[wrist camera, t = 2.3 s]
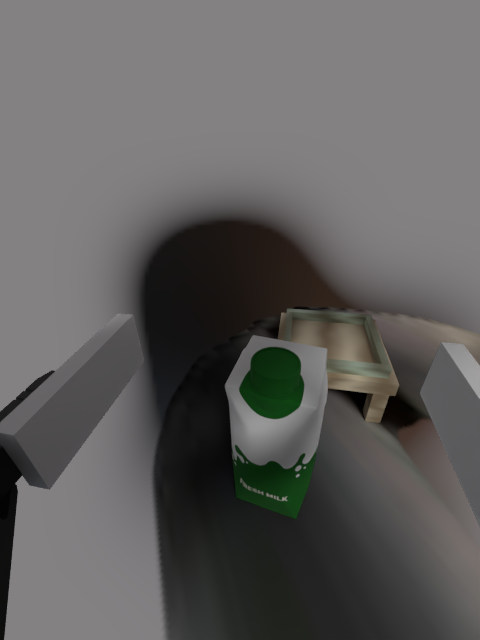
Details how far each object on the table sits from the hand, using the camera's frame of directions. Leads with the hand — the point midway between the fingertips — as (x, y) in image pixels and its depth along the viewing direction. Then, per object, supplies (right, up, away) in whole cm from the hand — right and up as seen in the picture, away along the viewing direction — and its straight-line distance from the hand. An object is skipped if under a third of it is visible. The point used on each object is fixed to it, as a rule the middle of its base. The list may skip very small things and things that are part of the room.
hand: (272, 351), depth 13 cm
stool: (+13, -9, +36) cm, 39 cm away
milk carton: (+3, -18, +22) cm, 29 cm away
